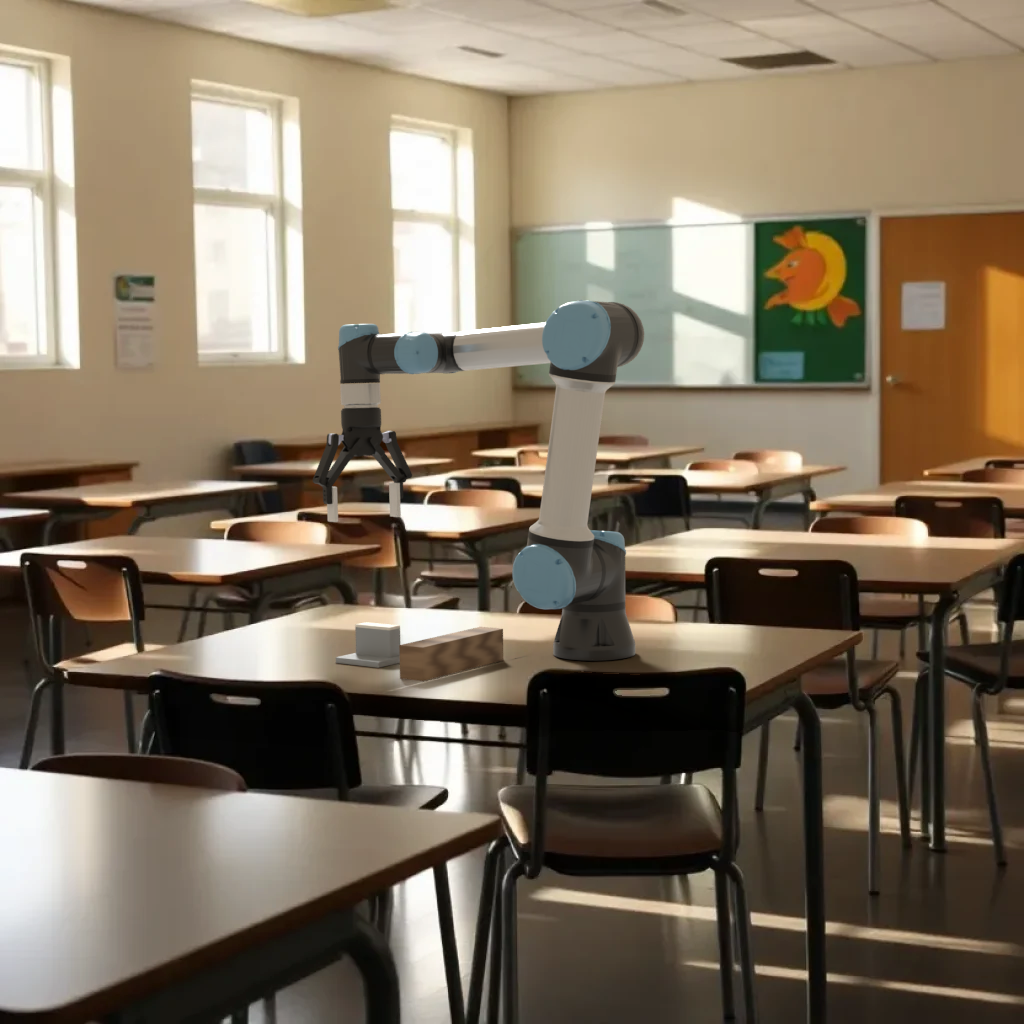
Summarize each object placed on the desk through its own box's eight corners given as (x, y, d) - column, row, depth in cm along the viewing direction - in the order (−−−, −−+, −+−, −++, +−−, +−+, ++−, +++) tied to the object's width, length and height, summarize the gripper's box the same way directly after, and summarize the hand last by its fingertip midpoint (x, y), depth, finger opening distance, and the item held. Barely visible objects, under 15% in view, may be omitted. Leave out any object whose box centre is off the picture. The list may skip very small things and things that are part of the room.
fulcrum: (420, 657, 317) (419, 622, 316) (378, 667, 307) (377, 631, 306) (378, 653, 322) (377, 618, 322) (335, 662, 313) (334, 627, 312)
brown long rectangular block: (480, 659, 316) (480, 626, 316) (503, 661, 313) (503, 628, 313) (400, 679, 296) (399, 645, 296) (423, 682, 294) (422, 647, 293)
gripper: (407, 404, 335) (410, 513, 337) (292, 408, 321) (296, 522, 323) (427, 404, 329) (430, 515, 331) (311, 408, 315) (315, 524, 317)
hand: (364, 519), depth 327 cm, fingers open, 13 cm apart
